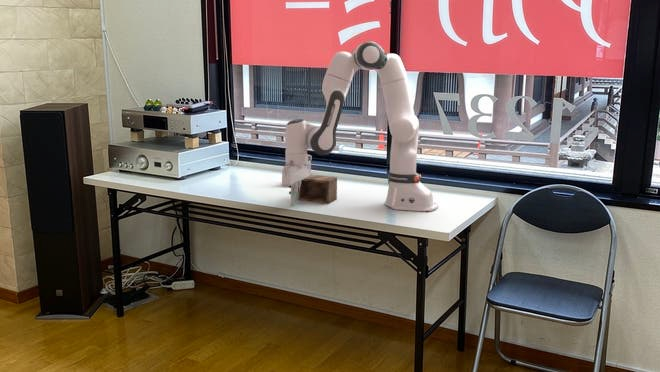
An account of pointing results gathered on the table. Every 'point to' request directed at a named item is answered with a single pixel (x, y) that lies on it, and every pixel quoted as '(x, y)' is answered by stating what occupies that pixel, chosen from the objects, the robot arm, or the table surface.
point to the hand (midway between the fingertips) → (296, 191)
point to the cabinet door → (294, 196)
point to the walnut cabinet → (318, 189)
